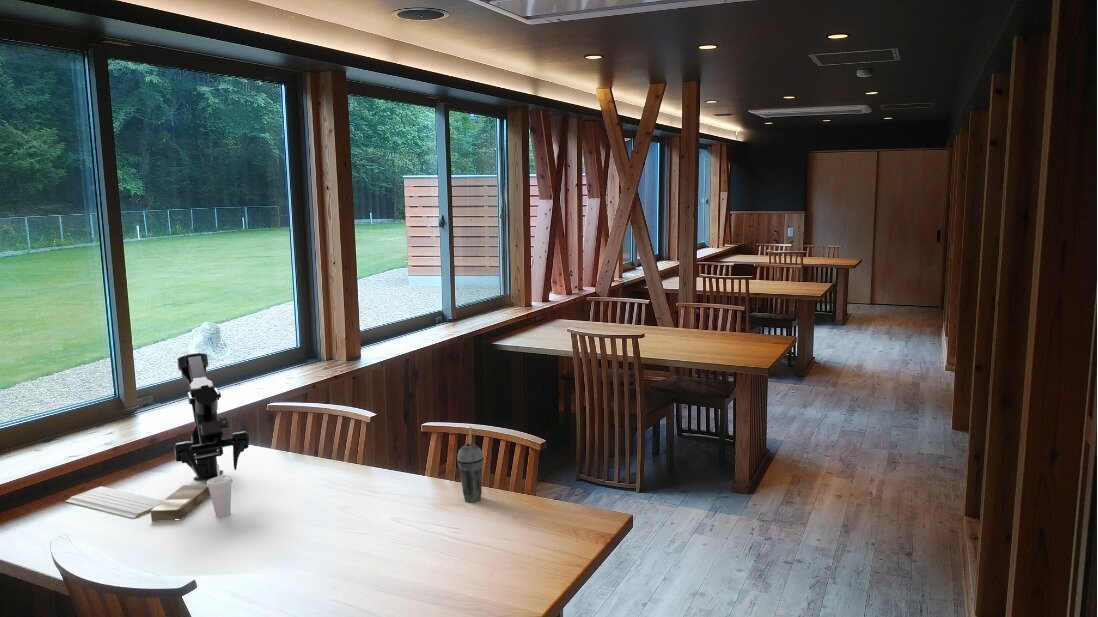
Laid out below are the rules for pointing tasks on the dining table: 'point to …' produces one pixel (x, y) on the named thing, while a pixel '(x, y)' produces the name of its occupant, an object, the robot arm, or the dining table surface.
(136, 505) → the baseboard molding
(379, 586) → the dining table surface
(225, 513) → the smoothie
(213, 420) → the robot arm
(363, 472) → the dining table surface
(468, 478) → the beverage cup
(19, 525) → the dining table surface
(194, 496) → the beam
